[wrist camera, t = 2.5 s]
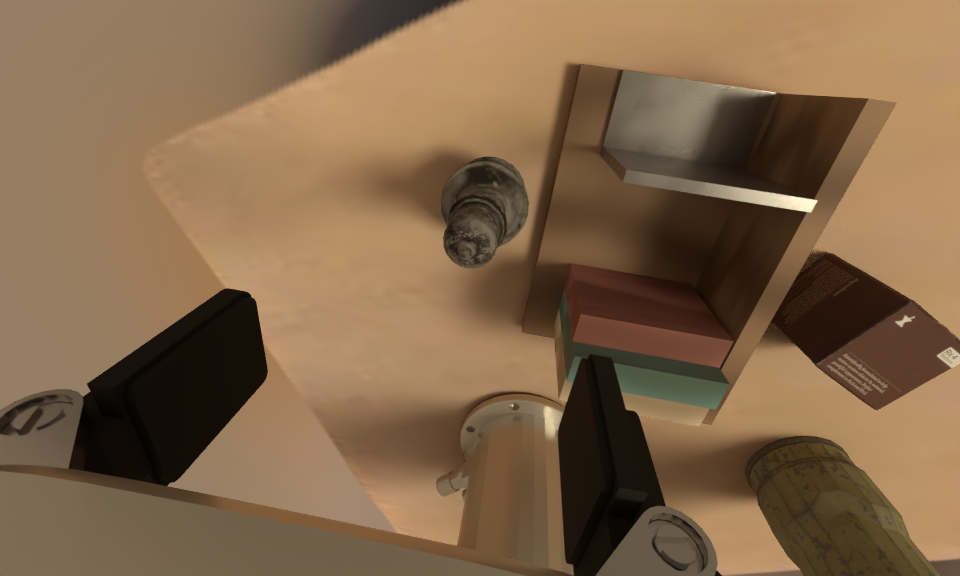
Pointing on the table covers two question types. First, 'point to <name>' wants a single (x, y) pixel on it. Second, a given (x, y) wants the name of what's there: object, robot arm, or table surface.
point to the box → (864, 332)
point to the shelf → (683, 251)
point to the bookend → (692, 139)
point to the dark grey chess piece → (482, 210)
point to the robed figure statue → (831, 512)
